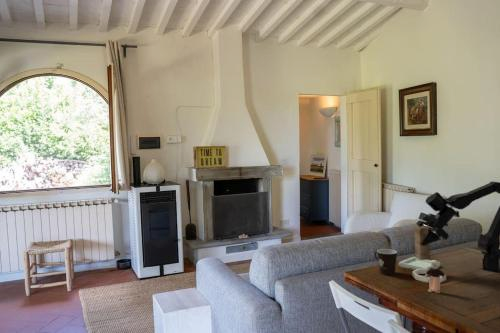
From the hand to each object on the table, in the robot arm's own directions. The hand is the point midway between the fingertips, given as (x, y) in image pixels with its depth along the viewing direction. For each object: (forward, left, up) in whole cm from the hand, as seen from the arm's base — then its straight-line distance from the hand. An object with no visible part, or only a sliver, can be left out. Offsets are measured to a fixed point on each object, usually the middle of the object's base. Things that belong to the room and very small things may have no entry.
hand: (419, 243), depth 180 cm
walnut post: (-1, -1, -7) cm, 7 cm away
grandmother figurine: (-16, +17, -14) cm, 27 cm away
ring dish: (-6, +3, -13) cm, 15 cm away
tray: (+5, -9, -13) cm, 17 cm away
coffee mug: (+11, +9, -14) cm, 20 cm away
